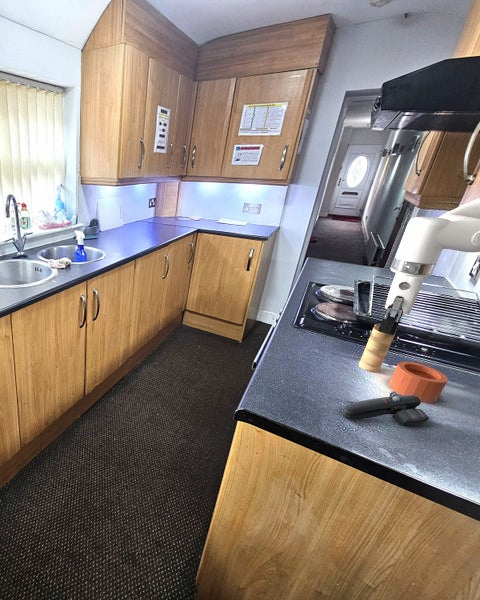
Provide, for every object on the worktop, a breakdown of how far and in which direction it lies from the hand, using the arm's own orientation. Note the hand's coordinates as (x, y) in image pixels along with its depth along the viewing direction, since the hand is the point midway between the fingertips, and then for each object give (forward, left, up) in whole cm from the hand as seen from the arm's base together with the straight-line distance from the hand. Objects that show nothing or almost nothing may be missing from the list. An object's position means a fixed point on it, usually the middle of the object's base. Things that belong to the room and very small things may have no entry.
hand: (388, 327), depth 89 cm
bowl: (-6, +9, -14) cm, 18 cm away
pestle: (+1, 0, -14) cm, 14 cm away
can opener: (+7, +23, -14) cm, 28 cm away
